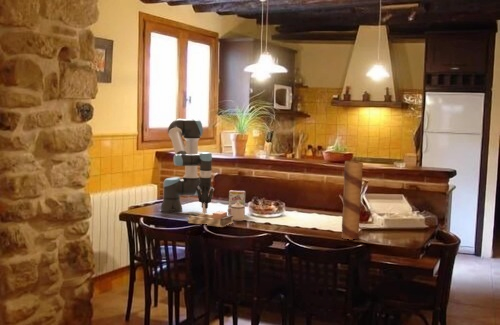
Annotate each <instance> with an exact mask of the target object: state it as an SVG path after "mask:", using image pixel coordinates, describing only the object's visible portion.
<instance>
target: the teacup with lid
mask: <svg viewBox="0 0 500 325" xmlns="http://www.w3.org/2000/svg"><path fill="white" fill-rule="evenodd" d="M229 209H231V214H230V212H229ZM228 213H229V215H233V221H236V222H237V221H244V220H245V214H244V205H241V204H239V202H236V204H234V205H231V208H227V214H228ZM229 215H228V216H229Z"/></svg>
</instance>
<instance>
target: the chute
mask: <svg viewBox="0 0 500 325" xmlns="http://www.w3.org/2000/svg"><path fill="white" fill-rule="evenodd" d="M187 223H188V224H195V225H202V224H207V225H206V226H211V227H217V228H219V227H220V228H224V227H227V226H229V224H230V225H232V223H233V224H234V220H233V215H227V216H226V217H223V218H220V219H214V218H213V213H212V214H210V213H205V214H203V212H198V213H197V215H188V221H187ZM226 225H227V226H226Z"/></svg>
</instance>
